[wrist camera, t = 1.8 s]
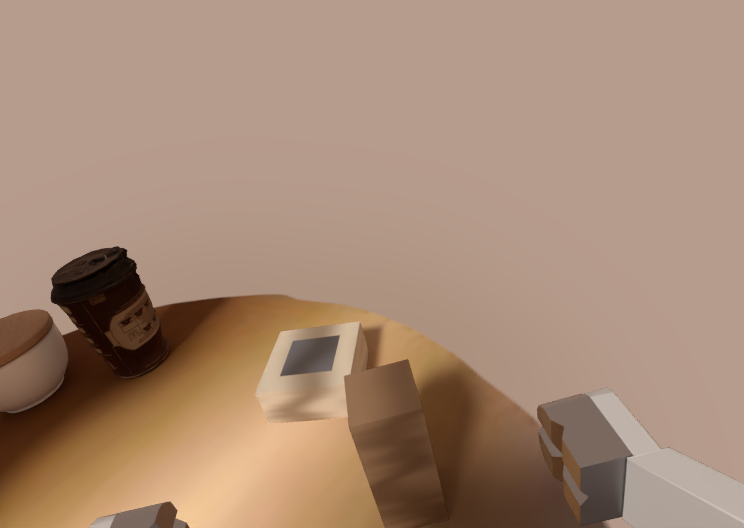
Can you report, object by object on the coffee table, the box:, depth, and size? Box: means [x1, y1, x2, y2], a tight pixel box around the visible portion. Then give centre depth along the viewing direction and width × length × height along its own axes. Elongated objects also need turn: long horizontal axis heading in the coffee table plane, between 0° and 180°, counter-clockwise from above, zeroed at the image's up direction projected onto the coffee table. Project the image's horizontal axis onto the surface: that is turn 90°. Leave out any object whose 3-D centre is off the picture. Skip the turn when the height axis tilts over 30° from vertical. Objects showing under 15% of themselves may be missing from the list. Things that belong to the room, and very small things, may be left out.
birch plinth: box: [255, 322, 369, 424], centre depth 41 cm, size 8×8×4 cm
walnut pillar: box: [344, 359, 449, 528], centre depth 28 cm, size 4×4×10 cm
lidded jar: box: [0, 309, 68, 413], centre depth 49 cm, size 11×11×9 cm
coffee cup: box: [51, 246, 170, 378], centre depth 49 cm, size 9×8×13 cm
